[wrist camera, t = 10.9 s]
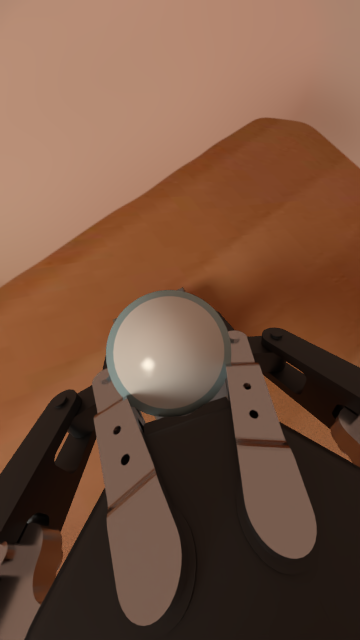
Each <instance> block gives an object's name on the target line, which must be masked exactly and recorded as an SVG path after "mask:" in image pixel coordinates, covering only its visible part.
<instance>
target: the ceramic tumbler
mask: <svg viewBox="0 0 360 640" xmlns="http://www.w3.org/2000/svg"><path fill="white" fill-rule="evenodd" d="M106 362H107V368H108V372H109V375H110V378H111V380H112V382H113V384H114V386H115V388H116V389H117V391H118V392H119V394H120V395H121V396H122V397H125V396H127V397H128V399H129V401H130V403H131V405H132V406H133V407H135V408H136V409H138V410H140V411H142V412H144V413H146V414H150V415H153V416H158V417H174V416H183V415H186V414H189V413H192V412H194V411H195V410H197V409H198V408H200V407H201V406H203V405H204V404H206V403H208V402H209V401H210V400H212V399H213V398H214V396H215V395H216V394H217V393H218V392H219V390H220V389H221V387H222V386H223V384H224V382H225V380H226V378H227V375H226V365H225V364H230V363H231V342H230V337H229V334H228V331H227V328H226V326H225V324H224V322H223V320H222V319H221V317H220V316H219V314H218V313H217V312H216V311H215V310H214V309H213V308H212V307H211V306H210V305H209V304H208V303H207V302H205V301H204V300H202V299H201V298H199V297H197V296H195V295H192V294H190V293H186V292H182V291H176V290H163V291H157V292H153V293H149V294H147V295H144V296H142V297H140V298H138V299H137V300H135V301H134V302H132V303H131V304H130V305H129V306H127V307H126V308H125V309H124V310H123V311H122V313H121V314H120V315H119V316H118V318H117V319H116V321H115V323H114V325H113V327H112V329H111V331H110V334H109V337H108V341H107V347H106Z"/></svg>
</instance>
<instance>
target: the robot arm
mask: <svg viewBox="0 0 360 640" xmlns="http://www.w3.org/2000/svg"><path fill="white" fill-rule="evenodd" d="M216 312H217V311H216ZM217 313H218V314H219V316H220V317H221V319H222V320H223V322H224V324H225V326H226V328H227V331H228V334H229V337H230V342H231V363H230V364H225V365H226V375H227V378H226V380H225V383H226V392H227V397H226V396H225V397H222V398H220V399H217V400H214V401H211V402H208V403H206V404H204V405H203V406H201V407H200V408H198V409H197V410H195V411H194V412H192V413H191V414H189V415H187V416H174V417H163V418H160V419H157V420H155V421H152V422H149V423H145V421H144V419H143V416H142V414H141V412H140V410H138V409H136V408H135V407H133V406H132V405H131V403H130V401H129V399H128V397H127V396H125V397H122V396H121V395H120V394H119V392H118V391H117V389H116V388H115V386H114V384H113V382H112V380H111V378H110V375H109V372H108V368H107V362H106V356H105V361H104V366H103V370H102V371H101V372H99V373H98V374H97V375H96V376H95V378H94V379H93V382H92V385H91V386H90V387H88V388H86V389H85V390H83V391H81V392H79V393H78V394H77V393H76V392H75V391H74V390H66V391H63V392H61V393H60V394H58V395H57V396H56V397H54V398H53V399H52V400H51V401H50V403H49V404H48V406H47V407H46V409H45V410H44V411H43V413H42V414H41V416H40V417H39V419H38V420H37V422H36V423H35V425H34V426H33V427H32V429H31V430H30V432H29V433H28V435H27V436H26V438H25V439H24V441H23V442H22V443H21V445H20V446H19V448H18V449H17V451H16V452H15V454H14V455H13V457H12V458H11V459H10V461H9V462H8V464H7V465H6V467H5V468H4V470H3V471H2V473H1V474H0V640H360V368H359V367H357V366H355V365H353V364H351V363H349V362H347V361H345V360H343V359H341V358H339V357H337V356H335V355H333V354H331V353H329V352H327V351H325V350H323V349H321V348H319V347H317V346H315V345H313V344H311V343H309V342H308V341H306V340H304V339H302V338H300V337H298V336H296V335H294V334H292V333H290V332H288V331H286V330H283V329H280V328H268V329H266V330H264V331H263V333H262V336H254V337H247V336H246V335H245V334H244V333H242V332H240V331H235V330H234V329H233V328H232V327H231V326H230V324H229V323H228V322H227V321H226V320H225V319H224V318H223V317H222V315H221V314H220V313H219V312H217ZM286 361H287V362H288V363H290V364H291V365H293V366H294V367H296V368H297V369H299V370H300V371H302V372H303V373H304V374H303V373H301V372H300V371H298V370H297V369H295V368H294V367H292V366H291V365H289V364H287V363H286ZM263 375H264V376H265V377H267V378H268V379H269V380H270V381H272V382H273V383H274V384H275V385H277V386H278V387H279V388H280V389H281V390H283V391H284V392H285V393H286V394H288V395H289V396H290V397H291V398H293V399H294V400H295V401H296V402H297V403H299V404H300V405H301V406H302V407H304V408H305V409H306V410H307V411H309V412H310V413H311V414H312V415H313V416H315V417H316V418H317V419H318V420H320V421H321V422H322V423H323V424H325V425H326V426H327V427H328V428H329V429H331V434H332V437H333V439H334V440H335V442H336V443H337V445H338V447H339V449H340V450H341V451H342V452H343V453H345V454H346V455H348V456H349V458H350V459H351V461H352V463H351V462H350V461H348V460H346V459H344V458H343V457H341V456H339V455H337V454H336V453H334V452H332V451H330V450H328V449H327V448H325V447H323V446H321V445H320V444H318V443H316V442H314V441H312V440H311V439H309V438H307V437H305V436H304V435H302V434H300V433H298V432H297V431H295V430H293V429H291V428H289V427H288V426H286V425H284V424H282V423H281V422H279V421H278V418H277V415H276V412H275V409H274V406H273V403H272V400H271V397H270V394H269V391H268V388H267V385H266V382H265V380H264V377H263ZM67 432H68V433H69V435H68V437H67V439H66V441H65V443H64V445H63V447H62V449H61V451H60V453H59V455H58V457H57V459H56V461H55V462H54V458H55V454H56V452H57V450H58V448H59V446H60V444H61V442H62V440H63V438H64V436H65V434H66V433H67ZM96 437H97V442H98V448H99V454H100V460H101V466H102V472H103V478H104V484H105V488H104V490H103V492H102V494H101V496H100V497H99V499H98V501H97V503H96V505H95V507H94V508H93V510H92V512H91V514H90V516H89V518H88V519H87V521H86V523H85V525H84V527H83V529H82V530H81V532H80V534H79V536H78V538H77V540H76V541H75V543H74V545H73V547H72V549H71V551H70V552H69V554H68V556H67V558H66V560H65V562H64V563H63V565H62V567H61V569H60V571H59V573H58V574H57V576H56V571H57V570H58V568H59V567H60V564H61V562H62V558H63V551H62V536H61V533H60V532H61V530H62V527H63V524H64V522H65V519H66V516H67V514H68V511H69V508H70V506H71V503H72V501H73V498H74V495H75V493H76V490H77V487H78V485H79V482H80V479H81V477H82V474H83V472H84V469H85V466H86V464H87V461H88V458H89V456H90V453H91V451H92V448H93V445H94V443H95V440H96Z"/></svg>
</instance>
